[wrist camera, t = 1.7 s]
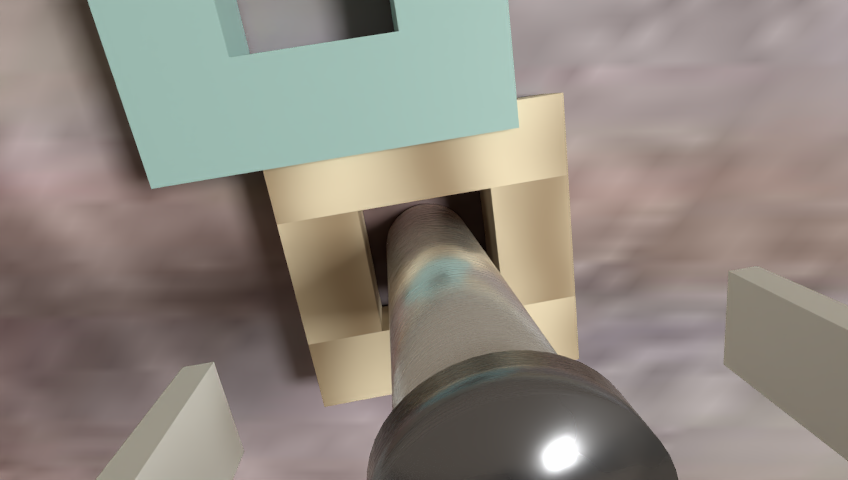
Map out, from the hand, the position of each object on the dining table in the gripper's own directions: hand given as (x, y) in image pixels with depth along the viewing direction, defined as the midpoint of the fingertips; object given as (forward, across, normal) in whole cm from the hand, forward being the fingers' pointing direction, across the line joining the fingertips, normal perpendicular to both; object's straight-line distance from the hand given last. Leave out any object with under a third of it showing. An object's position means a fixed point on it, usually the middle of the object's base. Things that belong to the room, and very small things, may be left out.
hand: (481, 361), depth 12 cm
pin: (+10, 0, 0) cm, 11 cm away
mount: (+10, 0, 0) cm, 11 cm away
